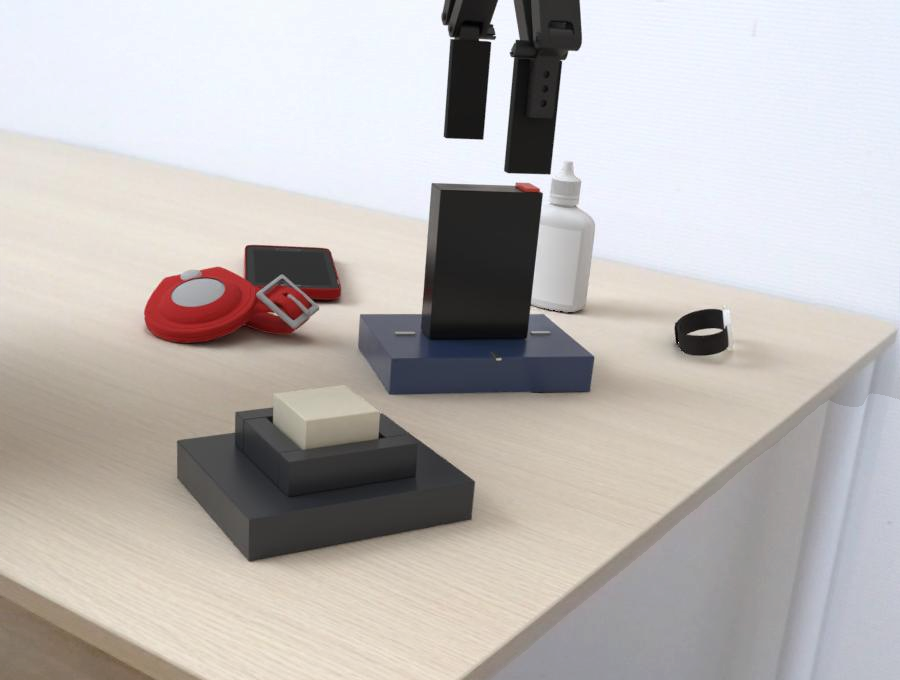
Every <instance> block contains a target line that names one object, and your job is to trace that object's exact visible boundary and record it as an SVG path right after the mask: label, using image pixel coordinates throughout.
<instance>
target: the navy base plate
mask: <svg viewBox="0 0 900 680" xmlns="http://www.w3.org/2000/svg"><path fill="white" fill-rule="evenodd" d="M421 319H422V313H360V314H359V320H358V321H359V323H358V342H357V348H358V349H359V351H360V352H361V354H362V355H363V357H364V358H365V360H366V361H367V363H368V364H369V366H370V367H371V369H372V370H373V372H374V374H375V376H376V377H377V378H378V381H380V383H381V384H382V386H383V387H384V390H385V391H386V392H387V394H388V395H390V396H391V395H392V396H393V395H394V396H396V395H441V394H444V395H446V394H494V393H502V394H503V393H570V392H571V393H572V392H590V391H591V387H592V381H593V380H592V379H593V372H594V366H595V365H594V364H595V355H594V354H592V353H591V352H590V351H589V350H587V349H586V348H585V347H584V346H583V345H581V344H580V343H579V342H578V341H576V340H575V339H574V338H573V337H572V336H570V335H569V334H568V333H567V332H566V330H564V329H562V328H561V327H560V326H559V325H557V323H555V322H554V321H552V320H551V318H550V317H548V316H547V315H545V314H544V313H530V316H529V325H528V334H527V338H526V339H429V338H428V336H427V335H426V334H425V333H424V332H423V331H422V329H421Z"/></svg>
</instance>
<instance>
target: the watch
mask: <svg viewBox="0 0 900 680" xmlns="http://www.w3.org/2000/svg"><path fill="white" fill-rule="evenodd" d="M721 307H722V309H719V308H704V309H699V310H695V311H691V312H689V313H687V314H684V315H683V316H681V317H680V318H679V319H678V320H677V321H676V322H674V328H673V329H674V337H675V346H676V345H678V348H680V349H681V350H680V349H679V350H680V352H681V351H683V352H684V353H683V352H682V353H683V354H686V355H688V356H692V357H693V356H695V357H704V356H705V357H706V356H714V355H717V354H720V353H722V352H725V351H727V352H730V351H732V350H734V349H735V348H734V339H733V328H732V318H731V311H730V308H727V305H726V304H723V305H722V306H721ZM710 329H711V330H712V329H716V330H721V331H718V332H715V333H712V334H711V333H710V334H705V335H693V334H691V333H694V332H697V331H703V330H710ZM678 342H679V343H678Z"/></svg>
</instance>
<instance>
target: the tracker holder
mask: <svg viewBox="0 0 900 680" xmlns="http://www.w3.org/2000/svg"><path fill="white" fill-rule="evenodd" d="M280 282H283V283H284V284H285V285H286V286H287V287H286V286H283V285H277V284H278V283H280ZM318 311H320V305H319V304H317V303H316V301H314V299H310V298H309V297H308V296H307V295H306V294H305V293H304V292H302V291H301V290H300V289H299V288H298V287H297V286H296V285H294V284H293V283H292V282H291V281H290V280H289V279H288V278H287V277H285V276H284V275H282V274H281V275H280V276H279V277H277V278H276V279H275V280H273V281H272V282H271V283H269V284H268V285H267V286H265V287H264V288H263V289H260V288H257V287H255V286H253V285H252V284H251V283H250V282H248V281H247V280H245V277H242V276H240V275H239V274H237V273H235V272H234V271H231V270H230V269H227V268H225V267H221V266H214V267H208V268H203V269H189V270H186V271H184V272H182V273H180V274H176V275H171V276H166V277H164V278H163V279H161V281H159V283H158V285H157V286H156V288H154V290H153V291H152V293H151V295H150V296H149V298H148V300H147V301H146V304H145V307H144V312H143V315H144V323H145V327H146V328H147V329H148V331H149V332H150V333H151V334H153V335H154V336H155V337H158V338H159V339H163V340H166V341H169V342H173V343H185V344H187V343H188V344H190V343H202V342H208V341H211V340H216V339H219V338H222V337H224V336H228V335H229V334H231V333H234V332H236V331H237V330H238V329H240V328H241V327H242V326H247V327H249V328H252V329H254V330H258V331H259V332H263V333H267V334H274V335H290V334H293V332H295V331H296V330H297V331H298V330H299V329H300V328H301V327H302V326H303V325H305V323H307V322H308V321H309V320H310V318H311V317H313V316H314V315H315V314H316V313H317V312H318Z"/></svg>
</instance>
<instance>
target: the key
mask: <svg viewBox="0 0 900 680" xmlns="http://www.w3.org/2000/svg"><path fill="white" fill-rule="evenodd" d="M272 404H273V405H272V407H273V424H274V425H275V426H276V427H277V428H278V429H279V430H280V431H281V432H283V433H284V434H285V435H286V436H287V437H288V438H289V439H290V440H292V441H293V442H294V443H295V444H296V445H297V446H298V447H299V448H301V449H302V450H304V449H311V448H318V447H325V446H332V445H339V444H346V443H353V442H360V441H367V440H374V439H378V436H379V420H380V414H381V411H380V409H378V408H377V407H375V405H373V404H372V403H370V402H368V401H367V400H366V399H364V398H363V397H362V396H361V395H359V394H358V393H356V392H355V391H354V390H353V389H351V388H350V387H348V386H347V385H345V384H342V385H334V386H326V387H317V388H316V387H315V388H308V389H307V388H306V389H298V390H290V391H289V390H288V391H281V392H273V401H272Z"/></svg>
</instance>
